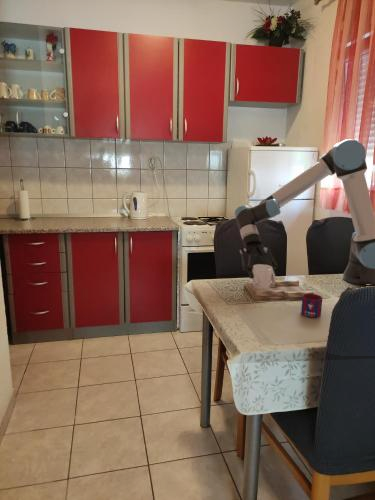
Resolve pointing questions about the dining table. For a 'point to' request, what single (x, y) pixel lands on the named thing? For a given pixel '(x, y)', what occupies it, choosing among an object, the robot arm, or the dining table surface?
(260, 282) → the white cup
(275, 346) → the dining table surface
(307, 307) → the mug
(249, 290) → the wooden tray
